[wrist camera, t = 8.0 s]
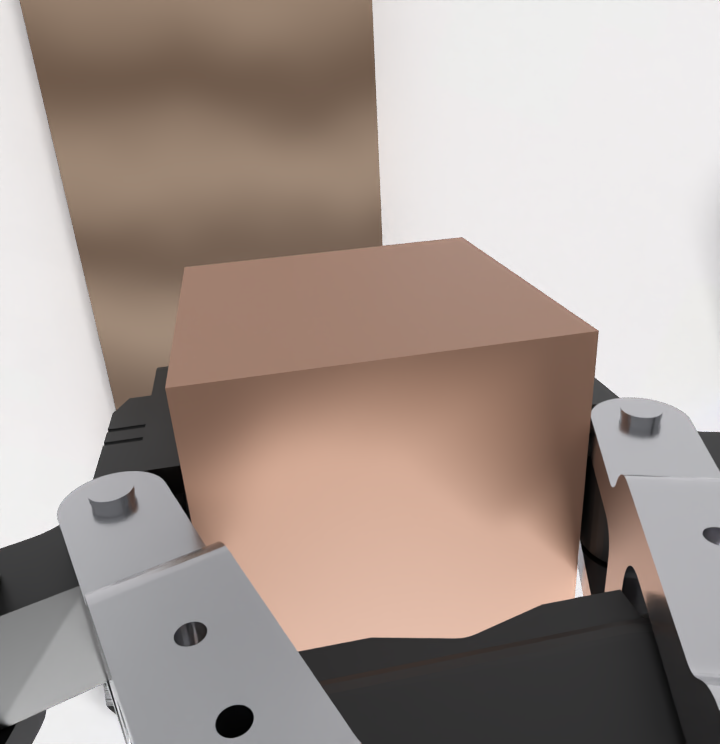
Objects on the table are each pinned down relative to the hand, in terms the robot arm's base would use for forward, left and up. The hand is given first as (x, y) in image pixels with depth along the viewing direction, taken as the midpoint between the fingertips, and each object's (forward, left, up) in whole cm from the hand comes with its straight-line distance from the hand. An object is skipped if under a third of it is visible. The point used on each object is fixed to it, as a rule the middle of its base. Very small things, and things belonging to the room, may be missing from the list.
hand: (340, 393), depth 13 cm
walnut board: (+1, -2, -18) cm, 19 cm away
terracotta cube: (0, 0, -1) cm, 1 cm away
